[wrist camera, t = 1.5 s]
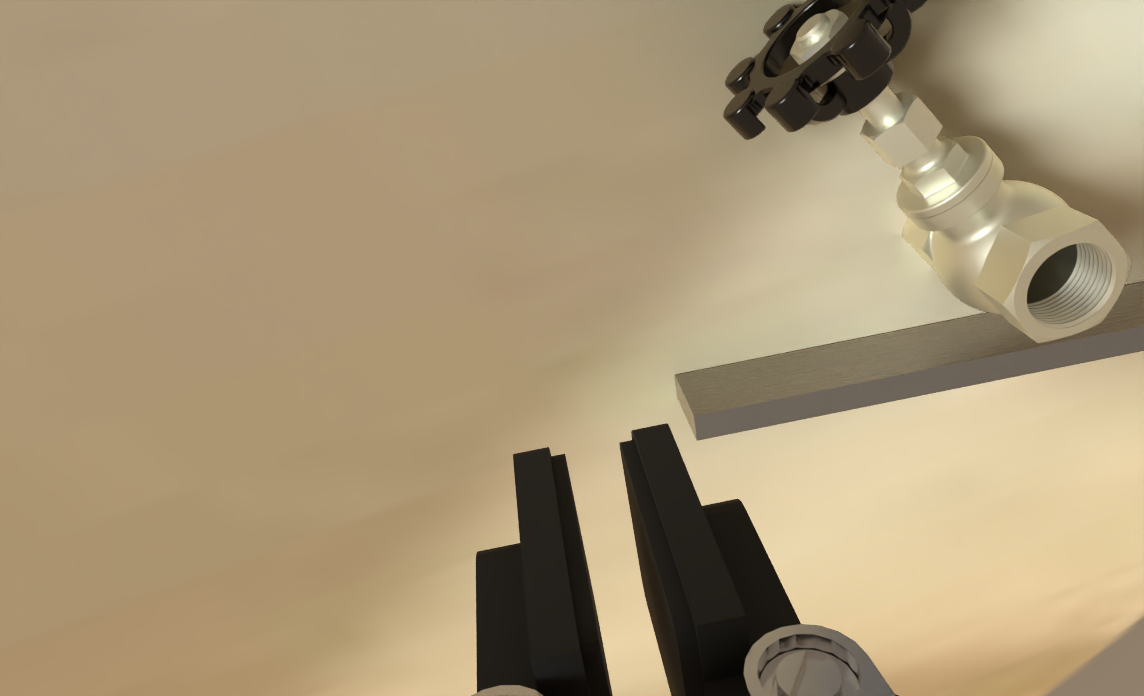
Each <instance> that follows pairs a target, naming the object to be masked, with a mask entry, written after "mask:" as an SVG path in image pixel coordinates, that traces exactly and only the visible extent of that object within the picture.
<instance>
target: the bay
mask: <svg viewBox="0 0 1144 696" xmlns="http://www.w3.org/2000/svg"><path fill="white" fill-rule="evenodd" d="M1139 351H1144V282H1139V283H1134V284H1129V285H1124V287H1123V289H1122V291H1121V293H1120V295H1119V297H1118V299H1117V301H1116V302H1115V304H1114V306H1113V307H1112V309H1111V310H1110V312H1109V313H1108V314H1107V316H1106V317H1105V318H1104V319H1103V321H1102V322H1101V323H1099V324H1097V325H1096V326H1094V327H1091V328H1089V329H1087V330H1085V331H1082V332H1079V333H1077V334H1074V335H1071V336H1067V337H1064V338H1060V339H1056V340H1052V341H1047V342H1042V343H1037V342H1036V341H1034V340H1033V339H1031V338H1030V337H1029V336H1027V335H1026V334H1024V333H1023V332H1022V331H1020V330H1019V329H1017V328H1016V327H1014V326H1013V325H1012V324H1010V323H1009V322H1008V321H1007V320H1006V319H1005V318H1004V317H1003V316H1002V315H1001V314H994V313H984V314H979V315H974V316H969V317H964V318H959V319H954V320H949V321H944V322H939V323H934V324H929V325H924V326H919V327H914V328H909V329H904V330H899V331H894V332H889V333H884V334H878V335H873V336H868V337H863V338H858V339H853V340H848V341H843V342H838V343H833V344H828V345H823V346H818V347H813V348H808V349H803V350H798V351H793V352H788V353H783V354H778V355H773V356H768V357H763V358H758V359H753V360H748V361H743V362H738V363H733V364H728V365H723V366H718V367H713V368H708V369H703V370H698V371H693V372H688V373H683V374H678V375H675V381H676V389H677V397H678V400H679V402H680V404H681V407H682V409H683V411H684V413H685V416H686V418H687V420H688V422H689V424H690V427H691V429H692V431H693V433H694V435H695V438H696V440H702V439H707V438H712V437H717V436H722V435H727V434H732V433H737V432H742V431H747V430H752V429H757V428H762V427H767V426H772V425H777V424H782V423H787V422H792V421H797V420H802V419H807V418H812V417H817V416H822V415H827V414H832V413H837V412H841V411H846V410H851V409H856V408H861V407H866V406H871V405H876V404H881V403H886V402H891V401H896V400H901V399H906V398H911V397H916V396H921V395H926V394H931V393H936V392H941V391H946V390H951V389H956V388H961V387H966V386H971V385H976V384H981V383H985V382H990V381H995V380H1000V379H1005V378H1010V377H1015V376H1020V375H1025V374H1030V373H1035V372H1040V371H1045V370H1050V369H1055V368H1060V367H1065V366H1070V365H1075V364H1080V363H1085V362H1090V361H1095V360H1100V359H1105V358H1110V357H1115V356H1120V355H1125V354H1129V353H1134V352H1139Z"/></svg>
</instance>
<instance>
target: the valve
mask: <svg viewBox="0 0 1144 696" xmlns="http://www.w3.org/2000/svg"><path fill="white" fill-rule="evenodd" d="M850 1H852V0H807V1H806V2H805V3H803V4H802V5H801V6H800V7H798V8H795V7H794V6H793V5H791V4H787V5H785V6H783V7H781V8H780V9H779V10H777V11H776V12H775V13H774V14H773V15H772V16H771V17H770V19H769V20H768V21H767V22H766V24H765V26H764V29H763V32H764V34H765V35H766V36H767V37H768V38H769V39H770V40H769V41H768V43H767V44H766V46H765V47H764V48H763V50H762V51H761V52H760V53H759V54H758V55H757V56H756V57H754V58H752V57H749V58H746V59H744V60H743V61H741V62H740V63H739V64H738V65H737V66H735V68H734V69H733V70H732V71H731V72H730V73H729V75H728V76H727V78H726V81H725V85H726V87H727V88H728V89H729V90H730V91H731V92H732V93H733V94H734V95H735V97H734V98H733V99H732V100H731V101H730V102H729V104H728V105H727V107H726V108H725V110H724V113H723V117H724V119H725V120H726V121H727V122H728V123H729V124H730V125H731V126H732V127H733V128H734V129H735V130H736V131H737V132H738V133H739V134H740V135H741V136H742V137H743V138H744V139H746V140H749V139H752V138H754V137H756V136H757V135H759V134H760V133H761V132H762V131H764V130H765V126H764V125H763V124H762V123H761V121H760V120H759V119H758V118H757V116H758V114H759V113H760V112H761V110H762V109H763V108H764V107H765V109H766V110H767V111H768V112H769V113H770V114H771V115H772V116H773V117H774V118H775V119H776V120H777V121H778V123H779V124H780V125H781V126H782V127H783V128H784V129H785V130H786V131H787V132H795V131H797V130H799V129H801V128H802V127H804V126H805V125H806V124H807V125H816V124H821V123H824V122H827V121H830V120H833V119H834V118H836V117H837V116H838V115H842V116H844V115H849V114H852V113H855V112H857V111H860V113H861V114H862V115H863V116H864V117H865V118H866V121H865V123H864V125H863V127H862V130H861V133H860V134H861V135H862V137H863V138H864V139H865V140H866V141H867V142H868V143H869V144H870V145H871V146H872V148H873V149H874V150H875V151H876V152H877V153H878V154H879V155H880V156H881V157H882V158H883V160H884V161H885V162H887V163H889V164H891V165H893V166H895V167H897V168H899V169H900V168H902V167H903V168H902V170H901V173H900V176H899V177H900V178H901V179H902V182H901V183H900V185H899V188H898V191H897V200H896V201H897V204H898V207H899V208H900V209H901V210H902V211H903V212H904V213H905V215H906V216H907V217H908V219H907V222H906V224H905V227H904V229H903V233H902V236H903V238H904V239H905V240H906V241H907V242H908V243H909V244H910V245H911V246H912V247H913V248H914V249H915V250H916V251H917V252H918V253H919V255H920V256H921V257H922V258H923V259H924V260H925V261H926V262H927V263H928V264H929V265H930V266H931V267H932V268H933V269H934V270H936V272H937V274H938V276H939V278H940V280H941V281H942V283H943V284H944V285H945V287H946V288H947V289H948V290H949V291H950V292H951V293H952V294H953V295H954V296H955V297H956V298H958V299H959V300H960V301H962V302H963V303H965V304H967V305H969V306H971V307H973V308H975V309H978V310H981V311H984V312H989V313H994V314H1001V315H1002V316H1003V317H1004V318H1005V319H1006V320H1007V321H1008V322H1009V323H1010V324H1012V325H1013V326H1014V327H1016V328H1017V329H1019V330H1020V331H1022V332H1023V333H1024V334H1026V335H1027V336H1029V337H1030V338H1031V339H1033V340H1034V341H1036V342H1037V343H1042V342H1047V341H1052V340H1056V339H1060V338H1064V337H1067V336H1071V335H1074V334H1077V333H1079V332H1082V331H1085V330H1087V329H1089V328H1091V327H1094V326H1096V325H1097V324H1099V323H1101V322H1102V321H1103V319H1104V318H1105V317H1106V316H1107V314H1108V313H1109V312H1110V310H1111V309H1112V307H1113V306H1114V304H1115V302H1116V301H1117V299H1118V297H1119V295H1120V293H1121V291H1122V289H1123V287H1124V285H1125V282H1126V280H1127V277H1128V274H1129V272H1130V268H1131V265H1132V261H1131V259H1130V258H1129V256H1128V255H1127V253H1126V252H1125V250H1124V249H1123V248H1122V246H1121V245H1120V244H1119V242H1118V241H1117V240H1116V239H1115V238H1114V236H1113V235H1112V234H1111V233H1110V232H1109V231H1108V230H1107V229H1106V228H1105V226H1104V225H1103V224H1102V223H1101V222H1100V221H1099V220H1097V219H1095V218H1093V217H1090V216H1088V215H1086V214H1084V213H1082V212H1079V211H1077V210H1075V209H1073V208H1070V207H1069V206H1068V205H1067V204H1066V202H1065V201H1064V200H1063V199H1061V198H1060V197H1059V196H1058V195H1056V194H1055V193H1053V192H1051V191H1050V190H1048V189H1046V188H1044V187H1042V186H1039V185H1036V184H1033V183H1029V182H1025V181H1018V180H1003V176H1004V167H1003V163H1002V162H1001V160H1000V159H999V158H998V157H997V156H996V154H995V153H994V152H993V151H992V150H991V148H990V147H989V146H988V145H987V143H986V142H985V141H984V140H983V139H981V138H979V137H976V136H962V137H958V138H954V139H949V138H947V137H943V136H941V137H938V138H937V136H938V134H939V133H940V131H941V129H942V127H943V125H942V124H941V123H940V122H939V121H938V120H937V118H936V117H935V116H934V115H933V114H932V113H931V111H930V110H929V109H928V108H927V107H926V105H925V104H924V103H923V102H922V101H921V100H920V98H919V97H918V96H916V95H914V94H912V93H909V92H906V91H902V92H900V93H898V94H894V93H893V92H892V91H891V90H890V88H889V87H888V86H887V85H888V84H889V82H890V81H891V79H892V77H893V74H894V70H895V66H894V64H893V62H892V61H891V60H892V59H893V58H895V57H896V56H897V55H898V54H899V53H900V52H901V51H902V50H903V49H904V47H905V46H906V44H907V42H908V40H909V37H910V34H911V28H912V17H911V13H913V12H914V11H916V10H917V9H919V8H920V7H921V6H922V5H924V4H925V3H926V2H927V1H928V0H861V1H860V3H859V5H858V7H857V8H856V10H855V11H854V13H853V14H852V15H851V17H850V18H848V17H847V16H846V15H845V14H844V12H841V11H839V10H837V9H838V8H840V7H841V6H843V5H845V4H847V3H848V2H850ZM886 18H887V19H888V20H889V22H890V23H891V29H890V31H889V32H888V33H887V34H886V35H885V36H883V37H882V35H881V34H880V33H879V32H878V31H877V30H878V29H879V28H880V26H881V25H882V23H883V22H884V20H885V19H886ZM789 55H791V56H792V57H793V58H794V60H795V61H796V62H797V63H798V64H799V66H797V67H796V68H794V69H792V70H791V71H789V72H787V73H785V74H783V75H780V76H778V75H779V72H780V70H781V68H782V66H783V64H784V62H785V61H786V59H787V58H788V56H789ZM813 90H815V91H816V92H817V93H818V94H819V95H820V96H821V97H822V100H821V101H820V103H817V102H815V101H814V99H813V98H812V97H811V96H810V95H809V94H810V92H812V91H813Z"/></svg>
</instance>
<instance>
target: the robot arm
mask: <svg viewBox="0 0 1144 696" xmlns="http://www.w3.org/2000/svg"><path fill="white" fill-rule="evenodd" d="M631 433H632V440H631V441H626V442H621V443H620V451H621V457H622V463H623V469H624V475H625V481H626V487H627V493H628V499H629V505H630V511H631V517H632V523H633V529H634V535H635V541H636V547H637V553H638V559H639V565H640V571H641V577H642V583H643V588H644V592H645V597H646V601H647V605H648V609H649V613H650V617H651V620H652V624H653V628H654V632H655V635H656V639H657V643H658V647H659V650H660V654H661V658H662V662H663V665H664V669H665V673H666V677H667V680H668V684H669V688H670V692H671V696H898V695H896V694H894V692H893V691H892V690H891V688H890V687H889V685H888V684H887V682H886V681H885V679H884V678H883V677H882V675H881V674H880V672H879V671H878V669H877V668H876V666H875V665H874V663H873V662H872V661H871V659H870V658H869V656H868V655H867V654H866V653H865V652H864V651H863V650H862V648H861V647H860V646H859V645H858V644H857V643H856V642H855V641H853V640H852V639H850V638H848V637H847V636H845V635H843V634H842V633H840V632H838V631H835V630H832V629H829V628H826V627H822V626H818V625H805V624H801V623H800V621H799V619H798V617H797V615H796V613H795V611H794V609H793V607H792V604H791V602H790V600H789V598H788V596H787V594H786V592H785V590H784V588H783V586H782V584H781V582H780V580H779V578H778V575H777V573H776V571H775V569H774V567H773V565H772V563H771V561H770V559H769V557H768V555H767V553H766V551H765V549H764V546H763V544H762V542H761V540H760V538H759V536H758V534H757V532H756V530H755V528H754V526H753V524H752V522H751V520H750V517H749V515H748V513H747V511H746V509H745V507H744V506H743V504H742V502H741V501H740V500H739V499H734V500H730V501H725V502H720V503H715V504H710V505H705V506H701V503H700V501H699V498H698V496H697V493H696V491H695V489H694V486H693V484H692V481H691V479H690V476H689V474H688V471H687V469H686V466H685V464H684V462H683V459H682V457H681V454H680V452H679V449H678V447H677V444H676V442H675V440H674V437H673V435H672V432H671V430H670V427H669V425H668V424H662V425H657V426H652V427H647V428H642V429H637V430H632V432H631ZM513 460H514V473H515V485H516V497H517V509H518V521H519V533H520V543H518V544H513V545H508V546H503V547H498V548H493V549H489V550H484V551H479V552H477V554H476V625H477V693H476V694H474V695H472V696H612V690H611V685H610V680H609V674H608V669H607V664H606V658H605V653H604V648H603V642H602V637H601V632H600V626H599V621H598V616H597V611H596V605H595V600H594V595H593V590H592V585H591V580H590V575H589V570H588V566H587V561H586V556H585V551H584V546H583V541H582V536H581V531H580V526H579V521H578V516H577V511H576V506H575V501H574V496H573V491H572V487H571V482H570V477H569V472H568V467H567V462H566V457H565V454H561V455H556V456H551V453H550V449H549V447H547V448H542V449H537V450H532V451H527V452H522V453H517V454H514V455H513Z"/></svg>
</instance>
